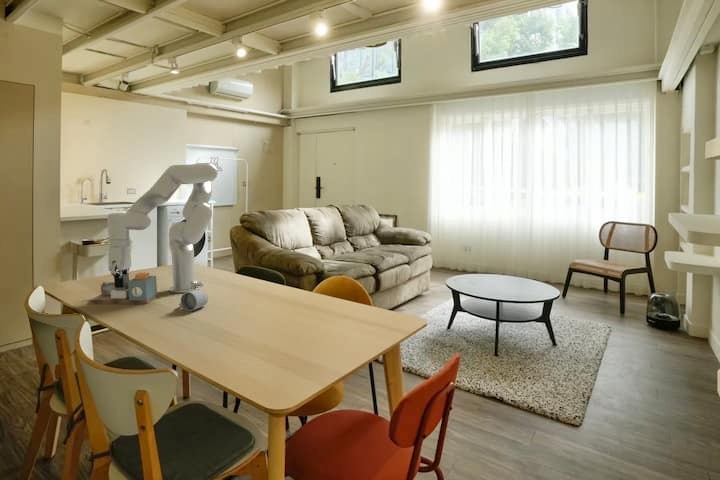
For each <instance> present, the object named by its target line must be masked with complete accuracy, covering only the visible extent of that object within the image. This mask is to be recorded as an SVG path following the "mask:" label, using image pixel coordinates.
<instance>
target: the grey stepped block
mask: <svg viewBox="0 0 720 480" xmlns="http://www.w3.org/2000/svg"><path fill="white" fill-rule="evenodd" d="M122 278H123V288H115V290H112V291H111V298H125V299H126V298H128V297H129V289H128V281H129V280H130V273H129V274H122ZM113 282H114V283H115V281H114V280H113Z"/></svg>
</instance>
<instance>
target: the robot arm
mask: <svg viewBox="0 0 720 480" xmlns="http://www.w3.org/2000/svg"><path fill="white" fill-rule="evenodd" d="M218 174H219V173H218V169H217V167H216V166H215V165H214V164H212V163H209V162H198V163H192V164H172V165H171V166H168V168H167V169H166V170H164V172H163V173H162V174H161V176H160V177H158V179H157V181H156V182H155V183H154V184H153V185H152V186H151V187H150V188H149V189H148V190H147V191H146V192H145V193H144V194H143V195H141V196H140V197H139V198H138V199H137V200H136V201H135V202H133V204H132V205H131V206H130V207H129V208H128V209H127V211H126V212H125V213H124V212H113V213H108V215H107V231H108V245H109V247H108V253H107V254H108V256H107V258H108V261H107V262H108V263H107V264H108V266H107V267H108V271H109V272H110V274H111V275H112V276H113V282H114V281H115V288H123V278H122V274H129V275H130V269H131V267H132V256H131V249H130V248H131V247H130V246H131V241H130V240H131V238H130V230H131V231H143V230H146V229H148V228H149V227H150V225H151V223H152V220H151V217H150V216H149V215H148V214H150V213H151V212H152V211H153V210H154V209H156V208H158V207H159V206H161V205H164V204H165V203H167V202H169V200H170V199H171V198H172V196H173V195H174V194H175V193H176V191H177V190H178V189H179V188H180V186H182V185H192V186H193V187H192V191H191V193H190V195H189V197H188V199H187V201H186V202H185V204H184V206H183V208H182V212H181V214H182V217H183V218H184V219H185V220H186V221H185V222H184V221H177V222H175V223H173V224H172V225H171V226H170V228H169V230H168V231H169V233H168V236H169V241H170V248H171V262H172V263H171V264H172V265H171V266H172V267H171V269H172V286H171V287H170V288H169V292H170V293H176V294H184V293H185V292H189V291H194V290H200V288H201V287H205V283H204V281H198V279H197V278H196V274H195V273H196V271H195V248H194V245H196V244H198V243H199V242H200V240H201V239H202V238H203V237H204V235H205V232H206V229H207V228H208V227H209V224H210V222H211V219H212V216H213V210H212V207H211V205H209V202H210V199H211V198H212V195H213V194H212V193H213V186H212V182H213V181H215V180H216V178H217V176H218Z"/></svg>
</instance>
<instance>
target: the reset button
mask: <svg viewBox="0 0 720 480" xmlns="http://www.w3.org/2000/svg"><path fill="white" fill-rule="evenodd" d="M149 276H150V272H138V273H136V274H134V278H135V280H146V279H148V278H149Z"/></svg>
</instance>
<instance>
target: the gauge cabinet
mask: <svg viewBox="0 0 720 480" xmlns="http://www.w3.org/2000/svg"><path fill="white" fill-rule="evenodd" d="M128 289H129V300H148V299H149V298H151V297H153V296H154V295H156V294H157V295H158V290H157V289H158V285H157V275H149V278H148V279H146V280H135V277H134V278H131V279H129V281H128Z"/></svg>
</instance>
